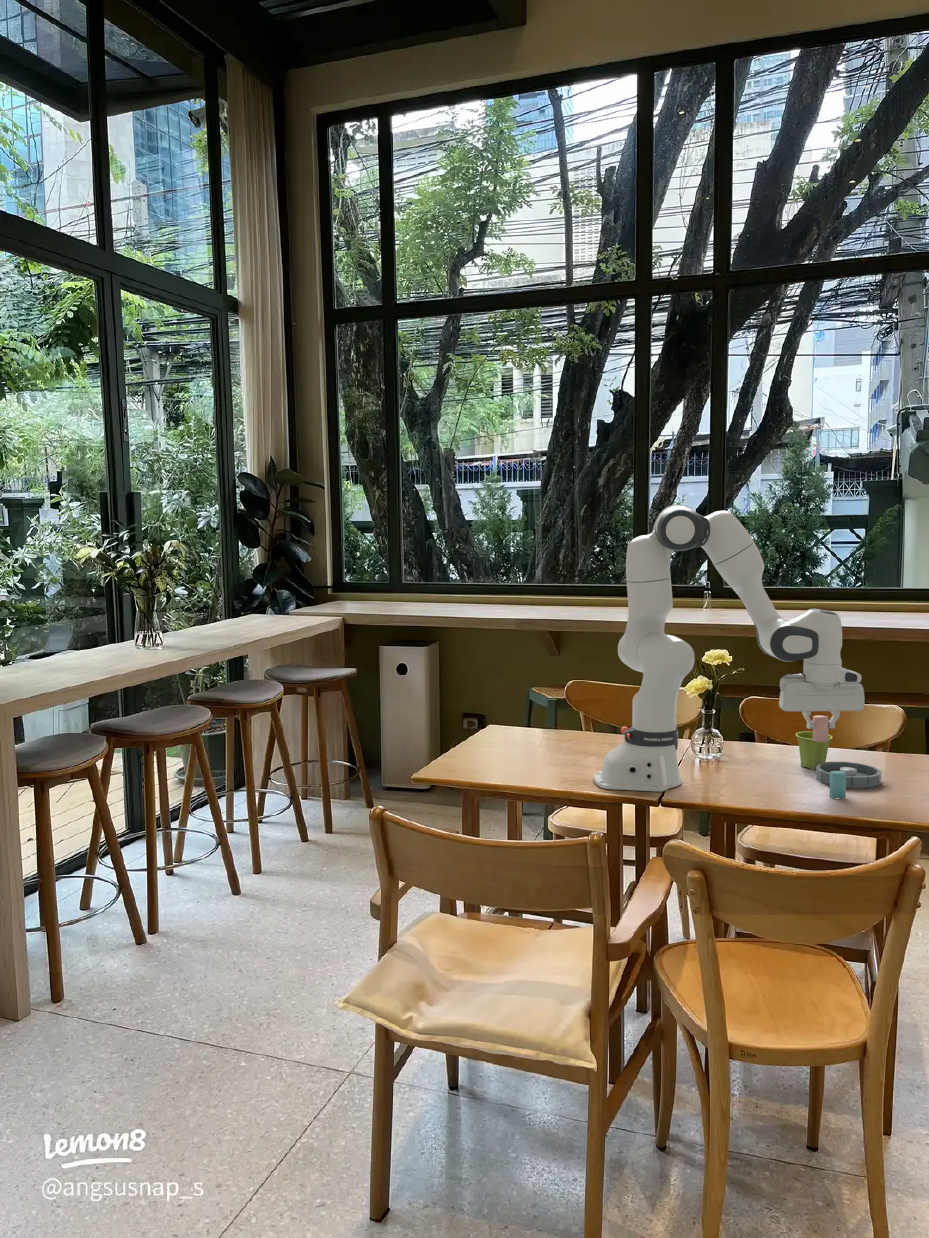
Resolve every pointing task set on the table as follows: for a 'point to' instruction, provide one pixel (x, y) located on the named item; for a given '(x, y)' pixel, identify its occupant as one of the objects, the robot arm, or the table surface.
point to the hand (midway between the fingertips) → (820, 728)
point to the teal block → (837, 784)
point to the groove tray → (851, 782)
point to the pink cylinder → (820, 728)
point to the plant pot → (812, 749)
